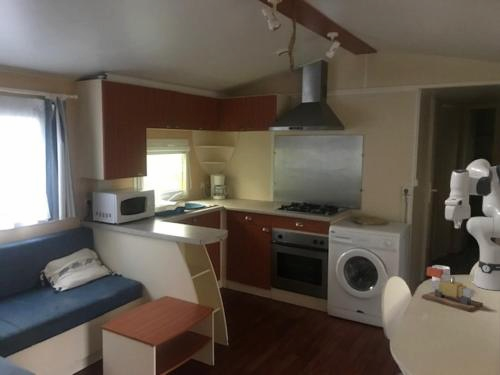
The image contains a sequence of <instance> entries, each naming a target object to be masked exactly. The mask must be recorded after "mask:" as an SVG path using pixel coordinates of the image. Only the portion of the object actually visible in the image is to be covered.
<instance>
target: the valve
mask: <svg viewBox="0 0 500 375" xmlns="http://www.w3.org/2000/svg"><path fill="white" fill-rule="evenodd" d="M432 289H434V291H435V297H439V298H442V297H445V295H448V296H452V297H455V298H457V297H461V300H460V303H461V304H464V305H469V304H471V300H472V298H473V297H474V288H470V287H467V285H464V283H462V282H459V281H455V282H454V283H453V282H451V280H450V279H449V280H447V281H438V280H435V281H433V280H432Z"/></svg>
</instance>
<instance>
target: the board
mask: <svg viewBox="0 0 500 375" xmlns="http://www.w3.org/2000/svg"><path fill="white" fill-rule="evenodd" d="M421 299H423V300H426V301H429V302H433V303H437V304H440V305H443V306H448V307H451V308H454V309H458V310H461V311H465V312H467V313H471V312H473V311H475V310H477V309H479V308H481V307H483V306H484V303H483V302H481V301H476V300H472V299H471V304H469V305H464V304H461V303H460V300H461V297H457V298H455V297H452V296H448V295H445V297H442V298H439V297H435V290H434V291H432V292H428V293H426V294H422V295H421Z"/></svg>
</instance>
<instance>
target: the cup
mask: <svg viewBox="0 0 500 375" xmlns="http://www.w3.org/2000/svg"><path fill="white" fill-rule="evenodd" d="M431 267H433V268H438V269H443V274H446V275H451V268H450V267H449V266H446V265H440V264H435V265H432V266H431ZM431 277H432V276H431ZM431 279H432V282H433V281H435V280H438V281H447V280H450V279H446V278H436V277H432V278H431Z"/></svg>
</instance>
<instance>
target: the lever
mask: <svg viewBox="0 0 500 375" xmlns="http://www.w3.org/2000/svg"><path fill="white" fill-rule="evenodd" d="M426 276H429V277H436V278H446V279H449V280H451V282H453V283H454V282H456V280H455V279H456V276H454V275H451V274H450V275H446V274H443V269H438V268H433V267H432V266H428V267H426Z"/></svg>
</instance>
